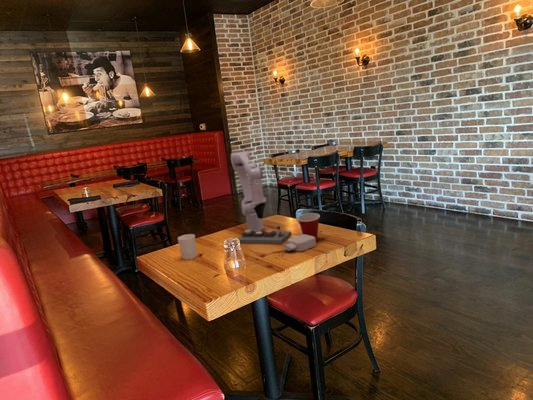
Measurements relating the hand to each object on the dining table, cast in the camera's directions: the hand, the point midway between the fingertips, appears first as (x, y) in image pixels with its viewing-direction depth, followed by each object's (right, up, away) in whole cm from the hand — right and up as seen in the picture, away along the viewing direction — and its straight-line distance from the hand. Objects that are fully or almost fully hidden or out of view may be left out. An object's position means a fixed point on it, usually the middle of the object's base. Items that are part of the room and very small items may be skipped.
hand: (260, 218), depth 202 cm
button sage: (-6, -8, 0) cm, 10 cm away
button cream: (-1, -8, -2) cm, 9 cm away
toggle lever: (+10, -7, -7) cm, 14 cm away
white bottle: (+17, -13, -23) cm, 31 cm away
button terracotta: (+5, -7, -5) cm, 10 cm away
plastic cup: (+24, -10, -13) cm, 29 cm away
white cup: (-33, -18, -16) cm, 40 cm away
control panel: (+2, -10, -3) cm, 11 cm away
